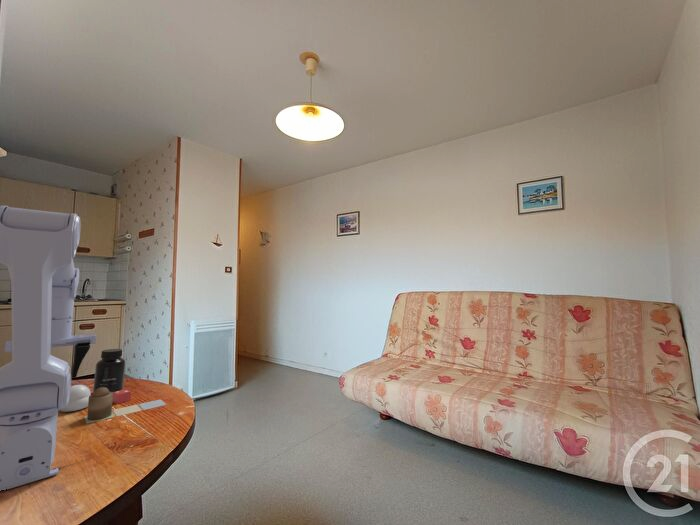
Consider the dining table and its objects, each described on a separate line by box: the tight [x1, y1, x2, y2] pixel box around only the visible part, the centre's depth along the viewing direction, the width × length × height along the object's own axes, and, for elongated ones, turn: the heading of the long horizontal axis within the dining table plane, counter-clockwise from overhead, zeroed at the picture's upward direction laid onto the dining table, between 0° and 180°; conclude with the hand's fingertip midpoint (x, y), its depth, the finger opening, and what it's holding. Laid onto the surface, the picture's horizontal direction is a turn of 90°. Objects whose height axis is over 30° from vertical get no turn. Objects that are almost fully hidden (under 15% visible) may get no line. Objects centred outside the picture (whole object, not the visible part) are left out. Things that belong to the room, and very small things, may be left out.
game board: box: [83, 398, 167, 424], centre depth 76 cm, size 11×16×1 cm
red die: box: [112, 388, 132, 405], centre depth 81 cm, size 3×3×3 cm
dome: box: [59, 384, 92, 413], centre depth 76 cm, size 6×6×6 cm
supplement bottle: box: [92, 348, 126, 394], centre depth 89 cm, size 7×7×12 cm
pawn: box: [86, 387, 113, 420], centre depth 72 cm, size 4×4×6 cm
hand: (50, 380), depth 68 cm, fingers open, 7 cm apart
